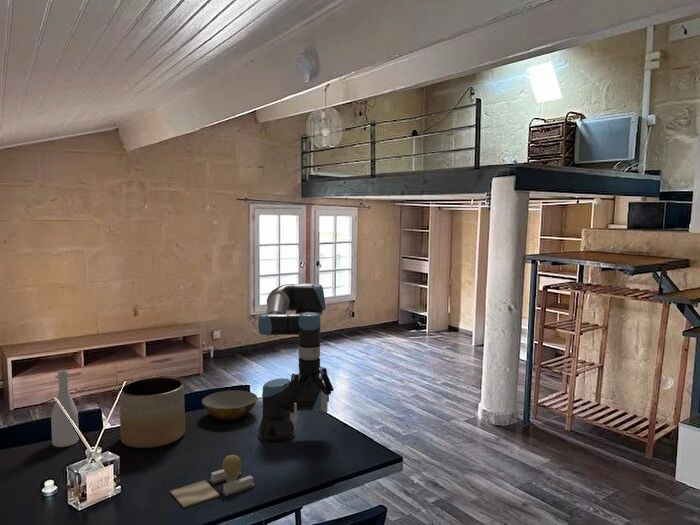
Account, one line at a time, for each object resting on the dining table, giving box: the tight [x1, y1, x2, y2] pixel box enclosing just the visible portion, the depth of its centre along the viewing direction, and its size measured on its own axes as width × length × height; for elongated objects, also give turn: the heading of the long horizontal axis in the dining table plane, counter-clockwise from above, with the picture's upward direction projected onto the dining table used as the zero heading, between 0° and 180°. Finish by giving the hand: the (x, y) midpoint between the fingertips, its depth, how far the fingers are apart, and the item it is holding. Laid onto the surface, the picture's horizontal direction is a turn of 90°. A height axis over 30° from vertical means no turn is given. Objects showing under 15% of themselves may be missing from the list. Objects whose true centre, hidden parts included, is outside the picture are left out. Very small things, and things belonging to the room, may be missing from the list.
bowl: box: [201, 389, 258, 421], centre depth 244 cm, size 25×25×8 cm
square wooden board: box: [169, 479, 220, 509], centre depth 175 cm, size 12×12×1 cm
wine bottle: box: [50, 369, 80, 448], centre depth 212 cm, size 10×10×30 cm
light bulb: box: [221, 454, 242, 483], centre depth 181 cm, size 6×6×10 cm
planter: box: [119, 376, 186, 450], centre depth 218 cm, size 25×25×22 cm
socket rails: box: [209, 468, 256, 497], centre depth 182 cm, size 13×11×3 cm
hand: (309, 416), depth 186 cm, fingers open, 13 cm apart
